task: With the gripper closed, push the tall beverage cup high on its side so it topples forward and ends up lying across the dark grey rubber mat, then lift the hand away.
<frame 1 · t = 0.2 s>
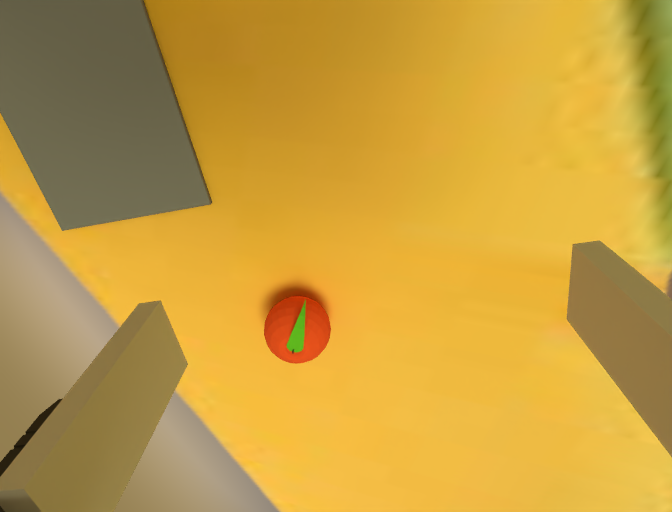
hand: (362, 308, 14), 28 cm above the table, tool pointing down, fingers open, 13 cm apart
mat: (93, 114, 39), on the table
clementine: (302, 305, 47), on the table
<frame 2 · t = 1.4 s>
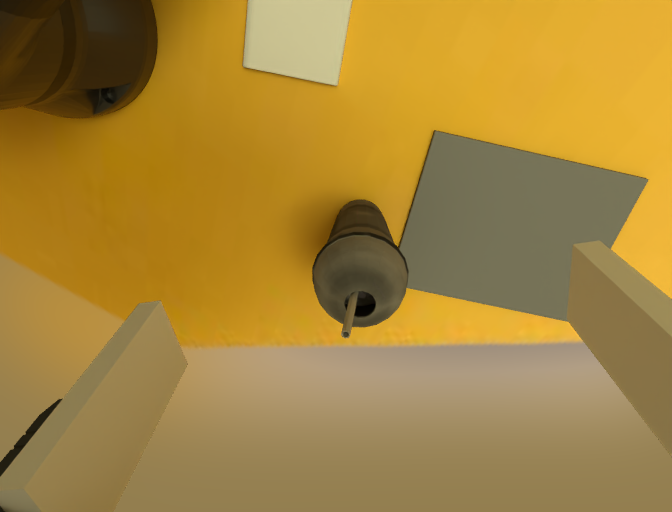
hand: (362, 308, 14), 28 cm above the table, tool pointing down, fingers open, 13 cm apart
mat: (507, 233, 42), on the table
beverage cup: (360, 220, 43), on the table
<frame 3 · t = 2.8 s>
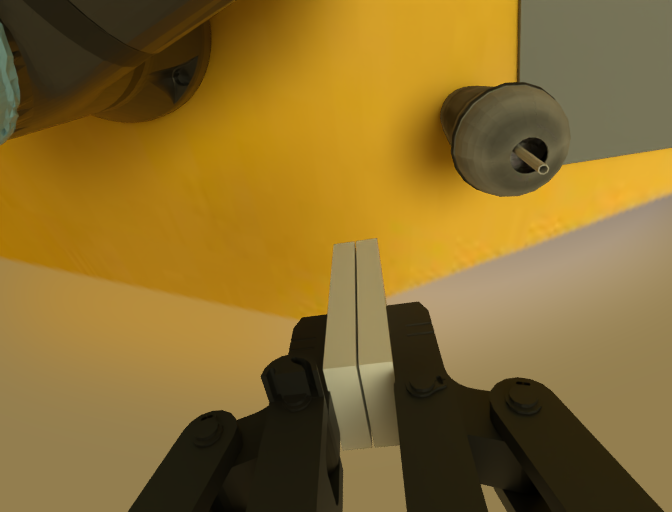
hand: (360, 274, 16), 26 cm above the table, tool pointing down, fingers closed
mat: (640, 58, 36), on the table
beverage cup: (465, 113, 38), on the table
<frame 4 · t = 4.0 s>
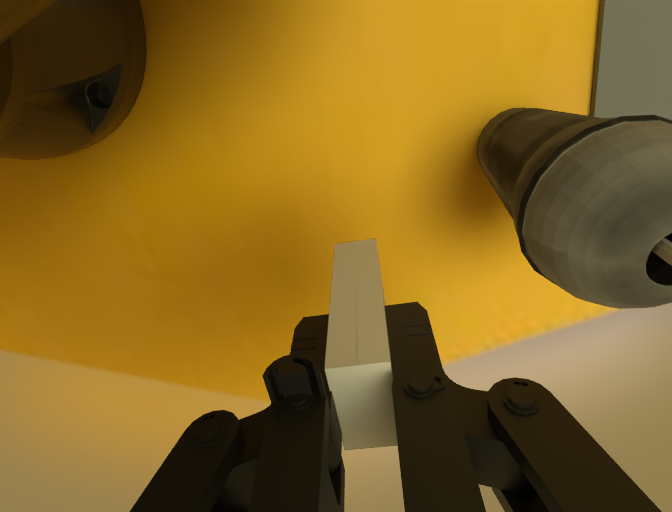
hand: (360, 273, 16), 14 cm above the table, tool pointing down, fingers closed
beverage cup: (512, 144, 27), on the table
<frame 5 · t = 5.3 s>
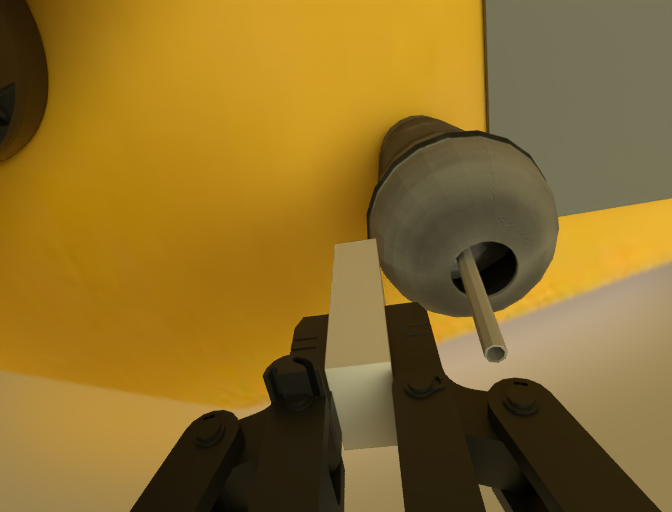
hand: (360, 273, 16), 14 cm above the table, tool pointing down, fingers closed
mat: (661, 71, 25), on the table
beverage cup: (415, 151, 27), on the table, touching gripper
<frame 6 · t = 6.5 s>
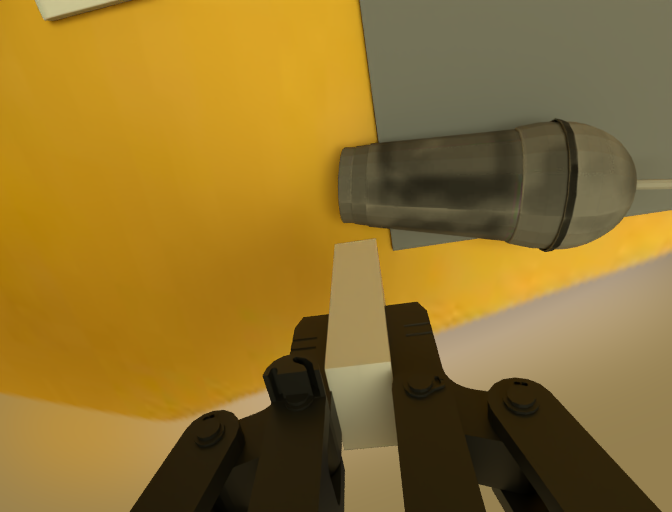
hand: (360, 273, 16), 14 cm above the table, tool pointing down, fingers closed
mat: (542, 105, 26), on the table
beverage cup: (341, 185, 26), point 2 cm above the table, touching mat
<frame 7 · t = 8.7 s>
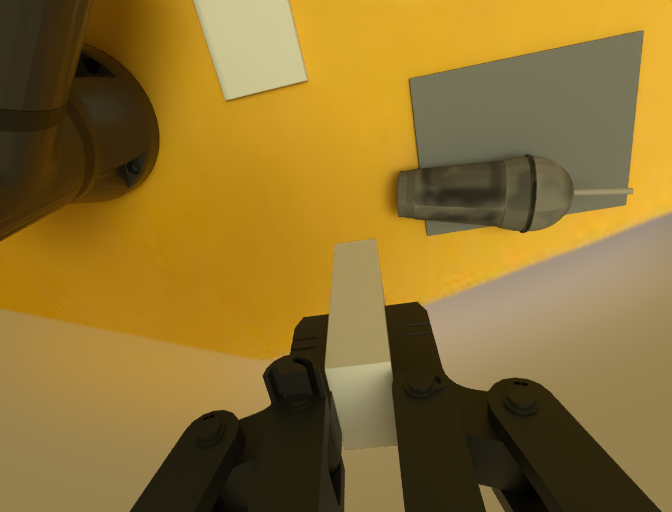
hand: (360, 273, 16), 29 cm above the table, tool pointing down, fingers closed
mat: (521, 144, 42), on the table
external hard drive: (249, 18, 39), on the table
beverage cup: (397, 194, 42), point 2 cm above the table, touching mat
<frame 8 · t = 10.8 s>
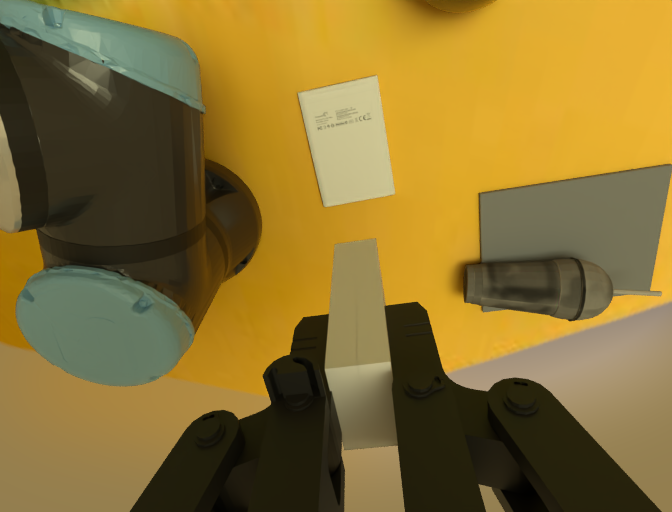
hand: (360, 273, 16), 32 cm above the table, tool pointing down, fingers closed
mat: (567, 243, 50), on the table
external hard drive: (348, 142, 46), on the table
beverage cup: (463, 283, 50), point 2 cm above the table, touching mat
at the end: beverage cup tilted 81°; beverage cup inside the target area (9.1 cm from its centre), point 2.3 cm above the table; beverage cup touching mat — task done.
